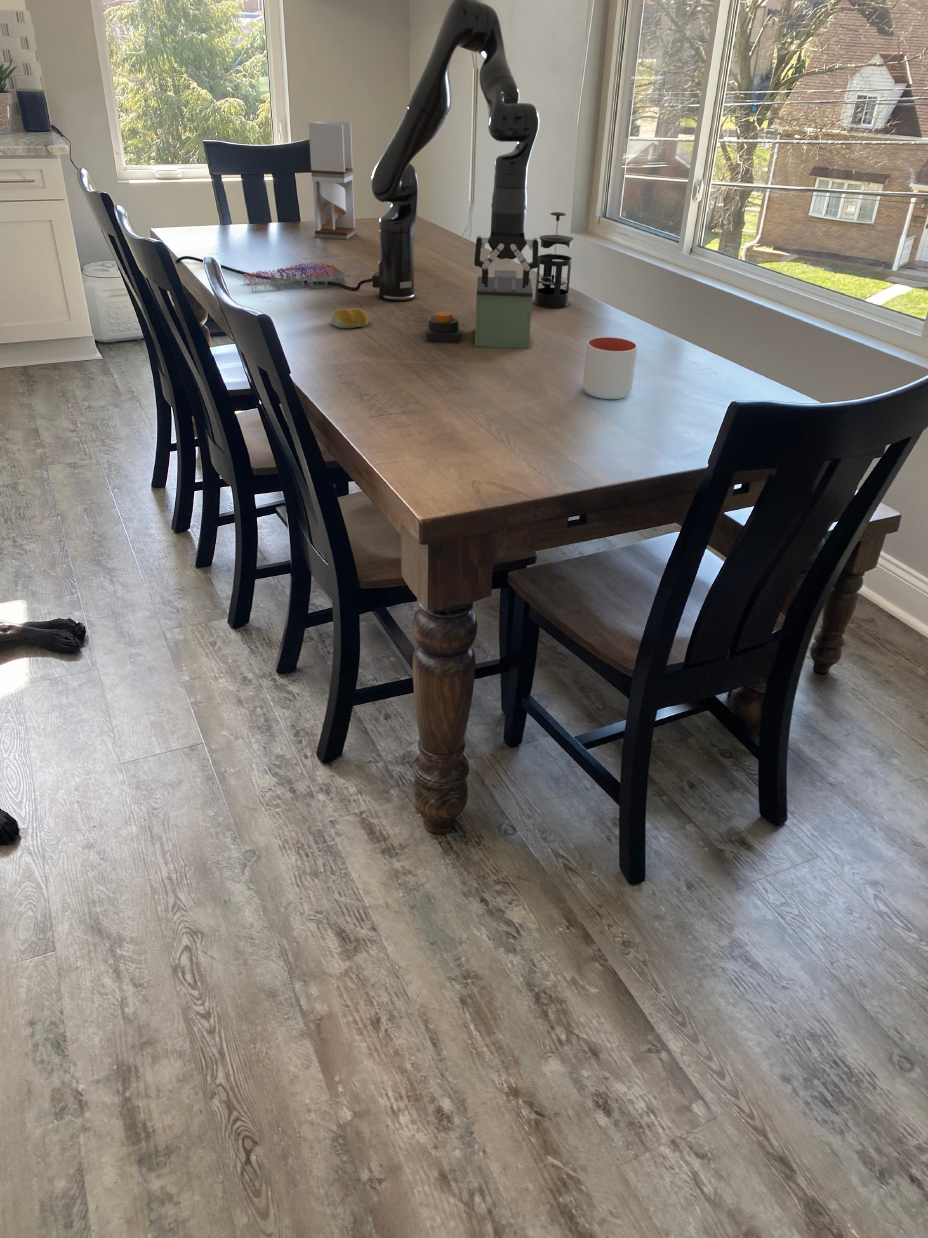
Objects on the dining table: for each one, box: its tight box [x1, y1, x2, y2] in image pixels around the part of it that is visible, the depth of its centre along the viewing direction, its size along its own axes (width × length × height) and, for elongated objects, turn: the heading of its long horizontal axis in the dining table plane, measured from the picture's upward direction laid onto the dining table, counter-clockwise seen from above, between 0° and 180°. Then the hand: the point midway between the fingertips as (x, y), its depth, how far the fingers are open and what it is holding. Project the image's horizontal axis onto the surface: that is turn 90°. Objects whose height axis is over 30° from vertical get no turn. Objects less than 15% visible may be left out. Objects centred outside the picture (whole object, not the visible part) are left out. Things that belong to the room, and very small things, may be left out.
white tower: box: [308, 120, 356, 240], centre depth 305 cm, size 11×11×35 cm
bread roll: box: [330, 307, 370, 329], centre depth 219 cm, size 8×9×4 cm
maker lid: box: [476, 269, 534, 298], centre depth 205 cm, size 14×13×5 cm
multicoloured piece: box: [243, 262, 351, 293], centre depth 251 cm, size 30×15×5 cm, turn 115°
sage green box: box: [474, 294, 533, 349], centre depth 210 cm, size 14×13×12 cm
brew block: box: [427, 315, 460, 344], centre depth 212 cm, size 10×7×4 cm
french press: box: [533, 211, 574, 309], centre depth 237 cm, size 12×9×23 cm
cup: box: [582, 336, 638, 400], centre depth 180 cm, size 10×10×10 cm
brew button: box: [434, 311, 453, 322], centre depth 211 cm, size 4×4×2 cm
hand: (504, 286), depth 202 cm, fingers open, 8 cm apart
